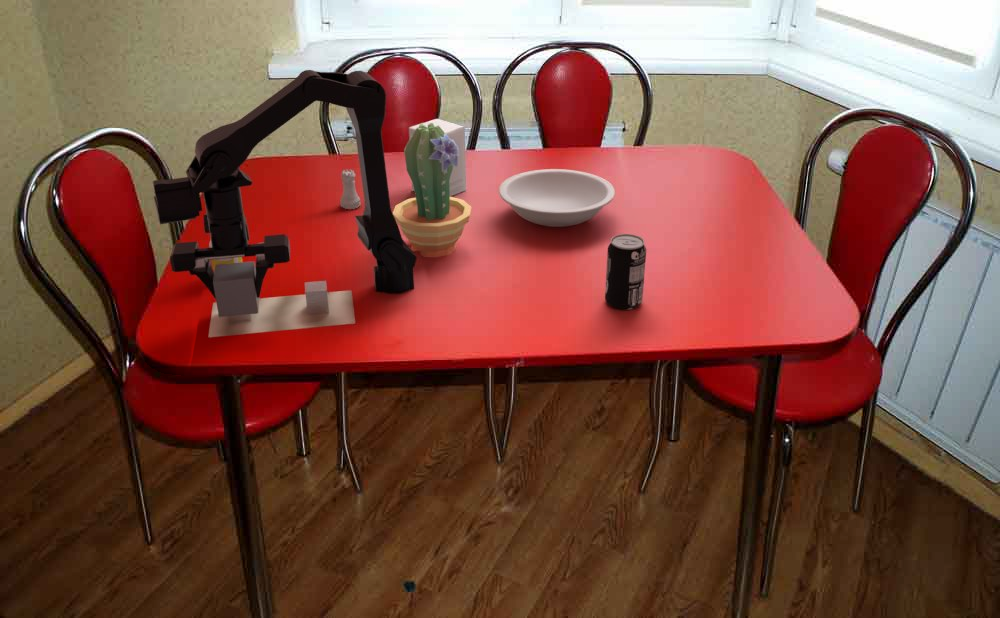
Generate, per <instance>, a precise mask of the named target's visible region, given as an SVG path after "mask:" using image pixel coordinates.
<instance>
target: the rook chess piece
mask: <svg viewBox="0 0 1000 618" xmlns="http://www.w3.org/2000/svg"><path fill="white" fill-rule="evenodd" d="M356 176H357V175H356V173H355V171H354V170H352V169H345V170H342V171H341V174H340V178H341V180H342V182H341V183H342V186H343V189H342V195H341V197H340V204H339V205H340V207H341V208H342V207H343V208H345V209H344V210H346V209H353V210H356V209H355V208H357V209H359V208H360V207H361V205H362V203H361V198H360V196H359V195H358V193H357V189H356V185H355V184H356V180H355V178H356ZM359 206H360V207H359ZM358 207H359V208H358ZM343 208H342V209H343Z"/></svg>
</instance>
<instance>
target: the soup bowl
mask: <svg viewBox="0 0 1000 618" xmlns="http://www.w3.org/2000/svg"><path fill="white" fill-rule="evenodd" d="M498 194H499V197H500V198H501V199H502V201H504V202H505V203H507V204H508V205H510V207H511V208H512V209H513V211H514V212H515V213H516V214H518V216H520V217H521V218H523V219H525V220H526V221H528V222H530V223H533V224H537V225H540V226H544V227H552V228H553V227H559V228H560V227H561V228H562V227H570V226H574V225H579V224H582V223H584V222H586V221H589V220H590V219H591V218H593V217H595V216H596V215H597V214H598V213H600V211H601V210H602V209H603V208H604V207H605V206H606V205H608V204H610V203H611V202H612V201H613V200H614V198H615V196H616V190H615V187H614V186H613V185H612V183H610V182H609V181H608V180H607V179H604V178H602V177H601V176H598V175H596V174H592V173H589V172H585V171H580V170H573V169H563V168H562V169H561V168H549V169H547V168H545V169H535V170H529V171H525V172H521V173H517V174H515V175H512V176H510V177H508V178H506V179H505V180H503V181H502V183H501V184H500V185H499V188H498Z"/></svg>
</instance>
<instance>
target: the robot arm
mask: <svg viewBox="0 0 1000 618" xmlns="http://www.w3.org/2000/svg"><path fill="white" fill-rule="evenodd" d="M314 102H322V103H323V102H324V103H326V104H332V105H335V106H339V107H343V108H345V109H346V111H347V113H348V116H349V119H350V122H351V123H352V126H353V128H354V133H355V139H356V149H357V154H358V163H359V170H360V177H361V184H362V194H363V199H364V209H363V213H362V215H355V218H354V219H355V221H356V224H357V233H356V234H357V237H358V239H359V240H360V242H362V244H363V245H364V247H365V248H366V250H367V251H369V252H370V253H371V254H372V256H373V257H374V259H376V265H374V266H373V278H374V288H375V289H374V290H375V292H377V293H386V294H391V295H399V294H404V293H406V292H409V291H410V290H414V289H415V280H414V279H415V278H414V268H415V265H416V262H417V260H418V257H417V255H416V254H415V253H414V251H412V250H411V248H410V246H409V245H408V244H407V243H406V241H405V240H404V239H403V237H402V234H401V231H400V228H399V227H400V226H399V224H397V223H396V220H395V218H394V215H393V210H392V207H391V200H390V192H389V185H388V184H389V183H388V177H387V168H386V161H385V160H386V159H385V151H384V143H383V135H382V133H383V132H382V130H383V124H384V121H385V118H386V107H387V93H386V90H385V88H384V86H383V85H382V84H381V83H380V82H379V81H378V80H376V79H375V78H374V77H373V76H372V75H370V74H369V73H368V72H365V71H363V70H354V71H352V72H349V73H343V72H336V71H317V70H312V69H306V70H303V71H301V72H300V73H299V74H298V75H297V77H296V78H294V79H293V80H291V82H289V83H288V84H286V85H285V86H284V87H282V88H281V89H279V90H278V91H276V92H275V93H274V94H272V95H271V96H270V97H269V98H267V99H266V100H264V101H263V102H262V103H261V104H259V105H258V106H257V107H255V108H254V109H252V110H251V111H250V112H249V113H247V114H245V115H244V116H243V117H242V118H240V119H238V120H236V121H234V122H231V123H228V124H224V125H220V126H219V127H217V128H215V129H212V130H210V131H208V132H207V133H205V134H203V135H201V136H200V137H199V138H198V139H197V141H196V143H195V147H194V153H195V155H194V157H193V159H192V160H191V161H190V162H191V163H190V164H189V166H188V167H187V169H186V171H185V174H186V176H185V177H178V178H177V177H176V178H172V179H157V180H153V181H152V187H153V192H154V193H153V194H154V196H153V201H154V205H155V210H156V211H155V212H156V216H157V219H158V223H159V225H165V224H166V225H167V224H171V223H177V222H178V223H179V222H185V221H189V220H190V221H191V220H196V219H197V217H200V216H201V215H200V213H201V212H203V205H202V200H201V195H200V194H201V193H202V194H203V199H204V204H205V205H204V206H205V207H204V208H205V211H206V213H205V214H203V216H202V217H203V219H202V220H203V226H204V227H203V229H204V233H205V234H209V236H210V237H209V238H210V240H211V243H212V248H209V247H204V248H203V247H200V246H199V243H198V241H196V240H195V241H184V242H176V243H174V245H173V246H172V249H171V252H170V256H169V259H170V260H169V262H170V267H171V272H174V273H181V272H182V273H183V272H188V273H189V275H191V276H196V277H197V278H198V279H199V280H200V281H201V282H202V283H203V285H204V286H205V287H206V288H207V290H208V291H209V292H210V294H211V295H212V297H213V298H214V300H216V297H215V291H214V285H213V278H214V270H213V265H212V259H224V258H235V257H242V258H244V257H245V258H246V257H255V268H256V292H257V297H259V298H261V292H262V288H263V282H264V280H265V277H266V275H267V272H268V270H269V269H272V268H274V267H275V264H285V263H289V262H290V261H291V245H290V238H289V236H287V235H286V234H285V233H283V234H270V235H264V236H263V237H264V239H263V242H258V243H252V244H250V243H249V241H250V233H249V225H248V223H247V216H245V213H244V207H243V206H244V205H243V199H242V193H241V188H244V187H248V186H252V185H253V182H252V180H251V177H250V176H249V175H248V174H247V173H245V172H244V171H242V170H241V169H240V167H241V166H242V165H243V164H244V163H245V162H246V161H247V159H248V158H249V156H250V154H251V153H252V151H253V150H254V149H255V148H256V146H258V144H260V143H261V142H262V141H264V140H265V139H267V137H269V136H271V134H272V133H274V132H276V131H277V130H278V129H280V128H281V127H282V126H284V125H285V124H287V123H288V122H289V121H290V120H291V119H293V118H294V117H296V116H297V115H299V114H300V113H301V112H302V111H304V110H306V108H308V107H309V106H311V105H312V104H313V103H314ZM199 247H200V248H199Z"/></svg>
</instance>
